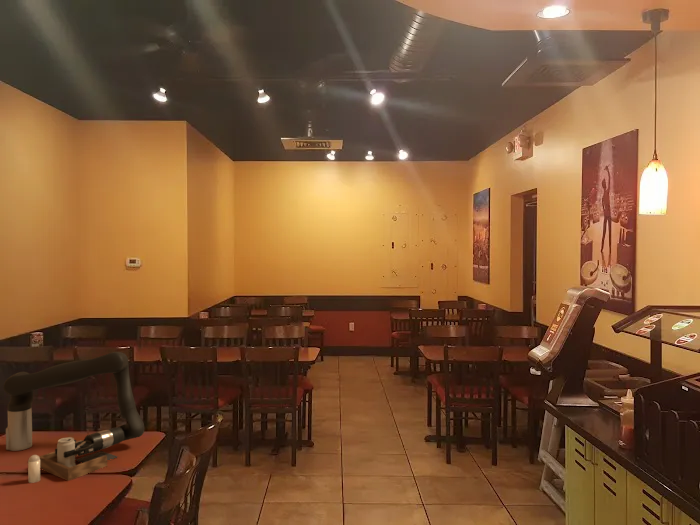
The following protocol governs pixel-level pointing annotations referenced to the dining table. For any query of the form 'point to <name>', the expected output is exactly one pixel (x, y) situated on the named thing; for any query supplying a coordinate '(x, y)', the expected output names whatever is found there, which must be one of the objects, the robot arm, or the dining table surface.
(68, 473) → the condiment rack
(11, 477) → the dining table surface
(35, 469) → the salt shaker
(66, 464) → the beverage can
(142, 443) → the dining table surface
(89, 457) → the coaster
